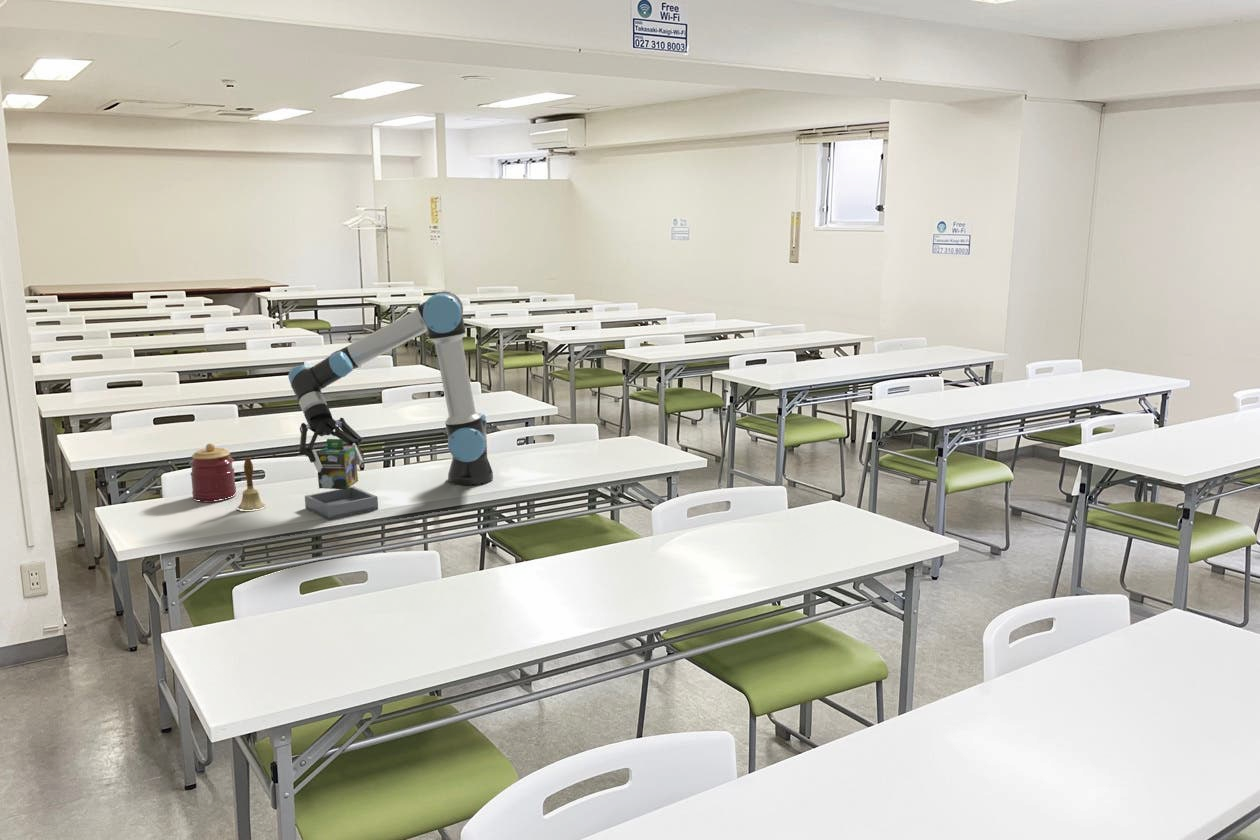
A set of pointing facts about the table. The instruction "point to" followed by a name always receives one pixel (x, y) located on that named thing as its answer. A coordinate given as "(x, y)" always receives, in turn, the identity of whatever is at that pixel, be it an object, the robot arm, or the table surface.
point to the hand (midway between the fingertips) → (340, 466)
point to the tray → (341, 502)
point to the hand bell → (250, 490)
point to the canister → (212, 474)
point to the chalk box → (337, 466)
